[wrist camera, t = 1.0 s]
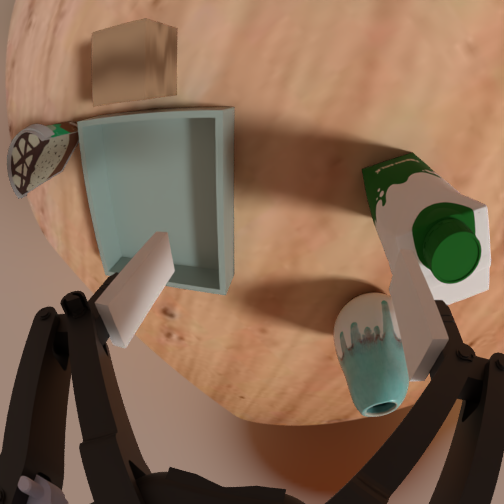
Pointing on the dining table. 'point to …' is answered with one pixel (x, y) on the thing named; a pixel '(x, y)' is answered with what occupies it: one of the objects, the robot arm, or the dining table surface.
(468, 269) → the milk carton
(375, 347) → the vase
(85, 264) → the dining table surface
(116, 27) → the walnut block
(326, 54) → the dining table surface
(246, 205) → the dining table surface
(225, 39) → the dining table surface
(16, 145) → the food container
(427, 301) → the robot arm
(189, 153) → the tote
